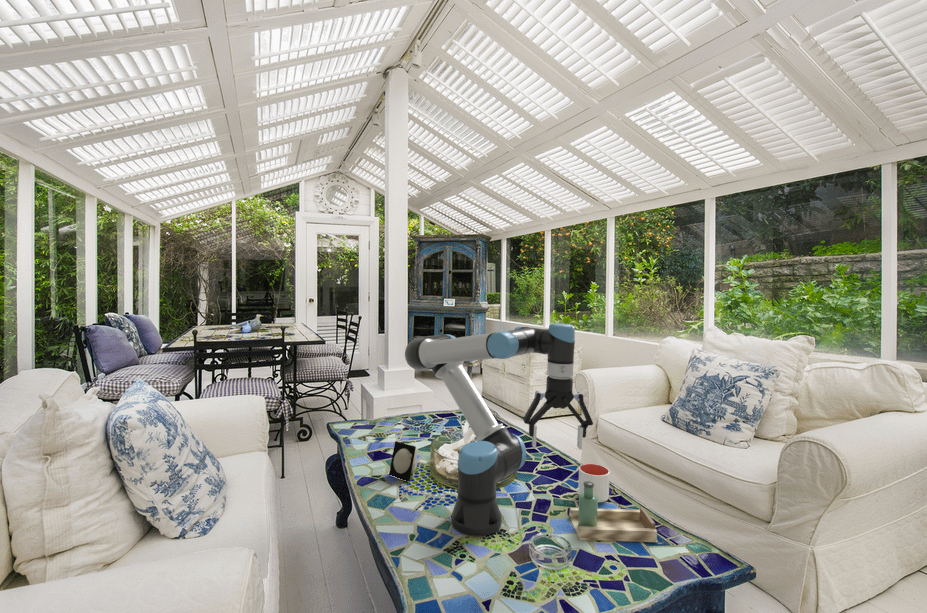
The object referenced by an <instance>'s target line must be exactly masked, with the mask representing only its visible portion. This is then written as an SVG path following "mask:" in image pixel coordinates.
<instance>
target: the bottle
mask: <svg viewBox="0 0 927 613" xmlns="http://www.w3.org/2000/svg"><path fill="white" fill-rule="evenodd" d="M583 485H584V493H581V494H578V508H579V510H578V526H588V527H597V509H599V506H598V505H599V504H598V503H599V502H598V497H597V496H596V495H594V494H593V487H594V483H593V482H590V481H585V482H584V484H583Z"/></svg>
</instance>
